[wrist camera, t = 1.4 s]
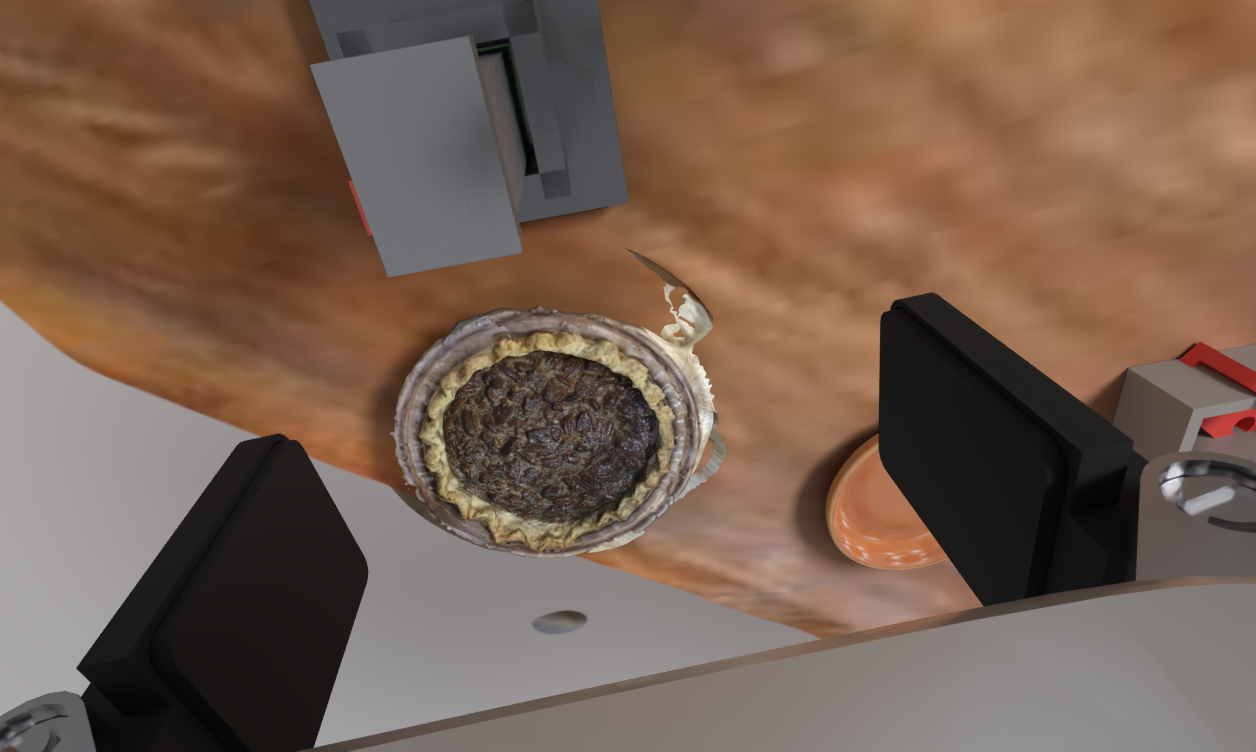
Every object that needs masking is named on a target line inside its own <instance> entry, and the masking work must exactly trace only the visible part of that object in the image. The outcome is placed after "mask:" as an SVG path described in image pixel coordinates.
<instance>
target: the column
mask: <svg viewBox="0 0 1256 752" xmlns="http://www.w3.org/2000/svg"><path fill="white" fill-rule="evenodd" d="M310 68H311V70H312V73H313V76H314V78H315V81H316V84H317V87H318V89H319V92H320V95H321V97H322V100H323V103H324V105H325V108H326V111H327V114H328V116H329V119H330V122H331V124H332V127H333V130H334V132H335V135H336V138H337V141H338V143H339V146H340V149H341V151H342V154H343V157H344V160H345V162H346V165H347V168H348V170H349V173H350V176H351V178H352V181H353V184H354V187H355V189H356V192H357V195H358V197H359V200H360V203H361V205H362V208H363V211H364V214H365V216H366V219H367V222H368V224H369V227H370V230H371V232H372V235H373V238H374V241H375V243H376V246H377V249H378V251H379V254H380V257H381V260H382V262H383V265H384V268H385V270H386V273H387V276H388V277H394V276H399V275H404V274H410V273H415V272H421V271H426V270H432V269H437V268H443V267H448V266H454V265H459V264H464V263H470V262H475V261H481V260H486V259H492V258H497V257H503V256H508V255H513V254H519V253H523V246H524V239H523V235H522V231H521V227H520V223H519V219H518V215H517V214H518V208H519V203H520V197H521V191H522V185H523V180H524V174H525V168H526V162H527V156H528V151H529V145H530V143H532V142H533V141H532V137H531V132H530V128H529V123H528V119H527V114H526V110H525V105H524V100H523V96H522V91H521V87H520V82H519V78H518V73H517V69H516V64H515V60H514V55H513V51H512V46H511V42H510V43H505V44H499V45H493V46H488V47H482V48H476V44H475V40H474V36H473V35H469V36H463V37H457V38H452V39H446V40H441V41H435V42H430V43H424V44H419V45H413V46H408V47H402V48H396V49H391V50H385V51H380V52H374V53H369V54H363V55H358V56H352V57H347V58H341V59H335V60H330V61H324V62H320V63H316V64H312V65H310Z"/></svg>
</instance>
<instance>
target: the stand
mask: <svg viewBox="0 0 1256 752" xmlns="http://www.w3.org/2000/svg"><path fill="white" fill-rule="evenodd" d="M309 2H310V5H311V8H312V10H313V13H314V16H315V19H316V22H317V25H318V27H319V30H320V33H321V36H322V39H323V42H324V44H325V47H326V50H327V53H328V56H329V58H330V60H335V59H341V58H347V57H352V56H358V55H363V54H369V53H374V52H380V51H385V50H391V49H396V48H402V47H408V46H413V45H419V44H424V43H430V42H435V41H441V40H446V39H452V38H457V37H463V36H469V35H473V36H474V40H475V44H476V48H482V47H488V46H493V45H499V44H505V43H510V42H511V46H512V51H513V55H514V60H515V64H516V69H517V73H518V78H519V82H520V87H521V91H522V96H523V100H524V105H525V110H526V114H527V119H528V123H529V128H530V132H531V137H532V141H533V142H532V143H530V145H529V151H528V156H527V162H526V168H525V174H524V180H523V185H522V191H521V197H520V203H519V208H518V214H517V215H518V219H519V223H520V222H526V221H531V220H537V219H542V218H548V217H553V216H558V215H564V214H569V213H575V212H580V211H586V210H591V209H597V208H602V207H608V206H613V205H619V204H624V203H629V201H628V194H627V188H626V181H625V175H624V168H623V162H622V155H621V149H620V143H619V136H618V130H617V123H616V117H615V110H614V104H613V97H612V91H611V84H610V78H609V71H608V65H607V58H606V52H605V45H604V39H603V32H602V26H601V19H600V13H599V6H598V0H309ZM348 183H349V186H350V188H351V191H352V194H353V196H354V199H355V202H356V204H357V207H358V210H359V212H360V215H361V218H362V220H363V223H364V226H365V228H366V231H367V234H368V236H370V235H372V232H371V230H370V227H369V224H368V222H367V219H366V216H365V214H364V211H363V208H362V205H361V203H360V200H359V197H358V195H357V192H356V189H355V187H354V184H353V181H352V178H351V179H350V180H349V181H348Z"/></svg>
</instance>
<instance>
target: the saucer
mask: <svg viewBox="0 0 1256 752" xmlns="http://www.w3.org/2000/svg"><path fill="white" fill-rule="evenodd" d="M878 441H879V433H878V434H876V435H875V436H873V437H872V438H870V439H869V440H868V441H866V442H865V443H864V444H863V445H861V446H860V447H859V448H858V449H857V450H856V451H855V452H854V453H853V454H852V455H851V456H850V457H849V458H848V459H847V461H846V462H845V463H844V465H843V466H842V467H841V469H840V470H839V472H838V473H837V475H836V477H835V479H834V480H833V482H832V485H831V487H830V490H829V492H828V496H827V501H826V510H825V512H826V521H827V526H828V529H829V533H830V536H831V538H832V540H833V542H834V543H835V545H836V546H837V548H838V549H839V550H840V551H841V552H842V553H843V554H844V555H846V556H847V557H848V558H850V559H851V560H853V561H855V562H857V563H859V564H862V565H864V566H868V567H871V568H876V569H882V570H906V569H914V568H919V567H924V566H927V565H931V564H934V563H937V562H940V561H943V560H945V559H948V556H947V555H946V553H945V552H944V551H943V549H942V548H941V546H940V545H939V544H938V542H937V541H936V540H935V538H934V537H933V535H932V534H931V533H930V531H929V530H928V528H927V527H926V526H925V524H924V523H923V522H922V520H921V519H920V517H919V516H918V515H917V513H916V512H915V510H914V509H913V508H912V506H911V505H910V504H909V502H908V501H907V499H906V498H905V497H904V495H903V494H902V492H901V491H900V490H899V488H898V487H897V485H896V484H895V483H894V481H893V480H892V479H891V477H890V476H889V474H888V473H887V472H886V470H885V468H884V467H883V464H882V462H881V459H880V455H879V447H878Z"/></svg>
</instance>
